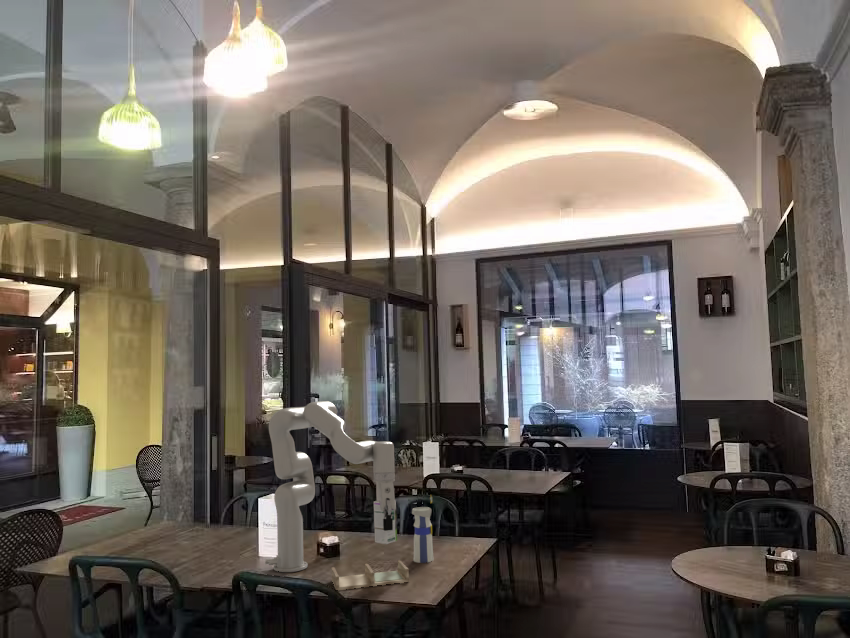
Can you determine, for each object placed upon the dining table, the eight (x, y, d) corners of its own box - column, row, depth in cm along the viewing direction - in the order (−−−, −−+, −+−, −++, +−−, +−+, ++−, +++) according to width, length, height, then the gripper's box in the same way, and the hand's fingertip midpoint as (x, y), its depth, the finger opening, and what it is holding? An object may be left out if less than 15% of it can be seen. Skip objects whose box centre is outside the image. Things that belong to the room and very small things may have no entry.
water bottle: (434, 556, 264) (432, 491, 266) (435, 562, 256) (433, 495, 258) (413, 557, 264) (411, 492, 266) (413, 563, 255) (411, 496, 257)
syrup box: (386, 544, 232) (386, 501, 234) (374, 542, 236) (373, 500, 237) (397, 541, 237) (396, 499, 238) (384, 539, 241) (383, 497, 242)
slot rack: (336, 590, 225) (336, 576, 225) (331, 580, 236) (331, 567, 237) (408, 582, 231) (408, 568, 232) (400, 573, 243) (400, 560, 243)
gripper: (400, 479, 231) (401, 532, 230) (389, 473, 248) (390, 522, 246) (378, 481, 229) (380, 534, 228) (369, 474, 246) (370, 523, 244)
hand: (385, 527), depth 237 cm, fingers closed on syrup box, 7 cm apart
